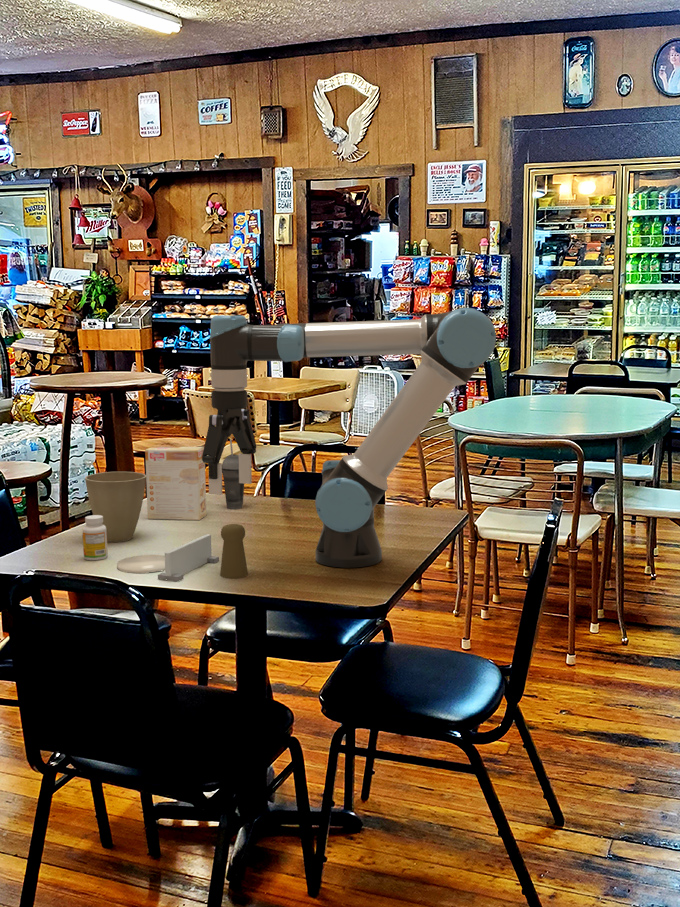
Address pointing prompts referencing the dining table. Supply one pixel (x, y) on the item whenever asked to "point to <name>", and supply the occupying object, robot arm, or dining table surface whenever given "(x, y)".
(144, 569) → the ceramic saucer
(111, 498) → the plant pot
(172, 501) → the coffeecake box
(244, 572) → the brown pawn
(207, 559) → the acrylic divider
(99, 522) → the supplement bottle
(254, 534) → the dining table surface
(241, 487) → the beverage cup
